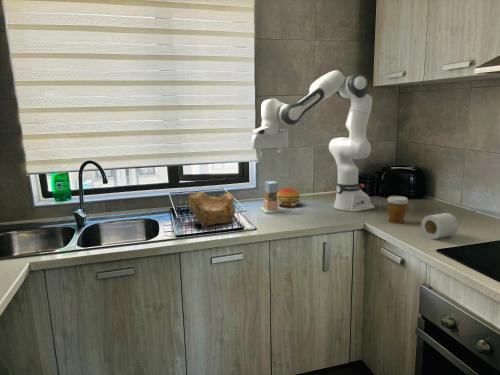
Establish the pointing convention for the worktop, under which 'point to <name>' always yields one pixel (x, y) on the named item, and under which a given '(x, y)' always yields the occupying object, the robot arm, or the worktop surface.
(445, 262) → the worktop surface
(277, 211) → the baseplate
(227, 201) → the rough brown rock
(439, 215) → the toilet paper
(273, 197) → the walnut block
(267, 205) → the terracotta block
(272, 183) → the slate blue block
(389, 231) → the worktop surface
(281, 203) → the burger
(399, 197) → the disposable coffee cup
